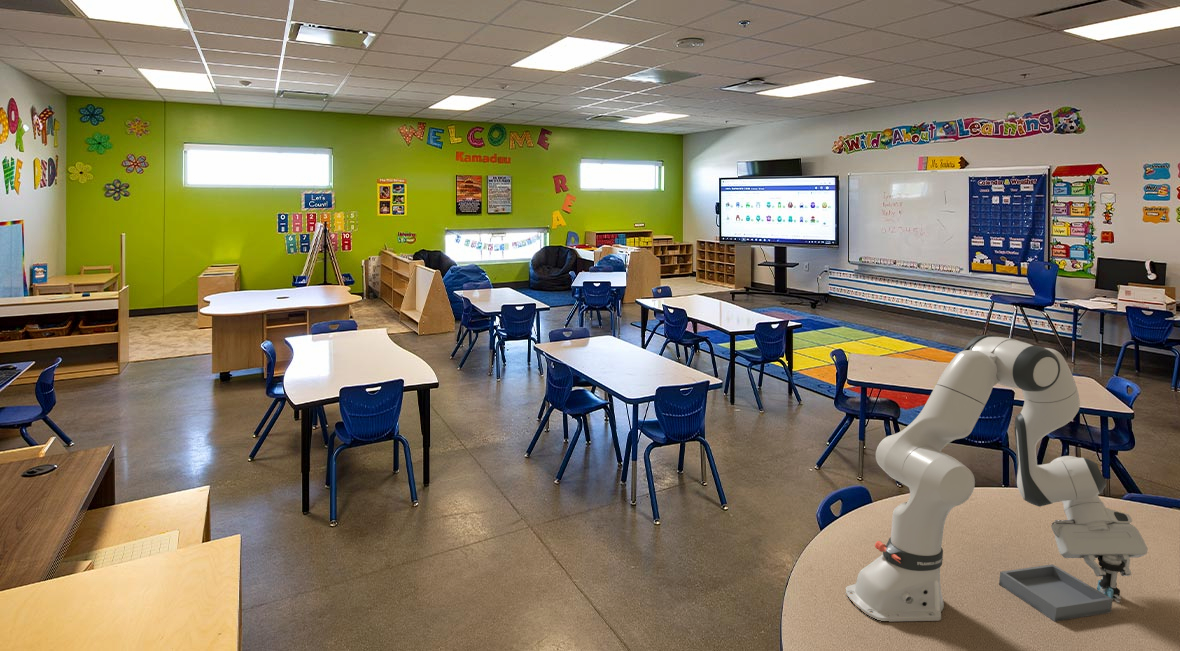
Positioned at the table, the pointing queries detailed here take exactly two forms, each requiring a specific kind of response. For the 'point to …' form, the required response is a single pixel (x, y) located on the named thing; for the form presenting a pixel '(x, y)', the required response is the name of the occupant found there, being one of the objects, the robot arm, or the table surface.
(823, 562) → the table surface
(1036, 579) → the dock tray
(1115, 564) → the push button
